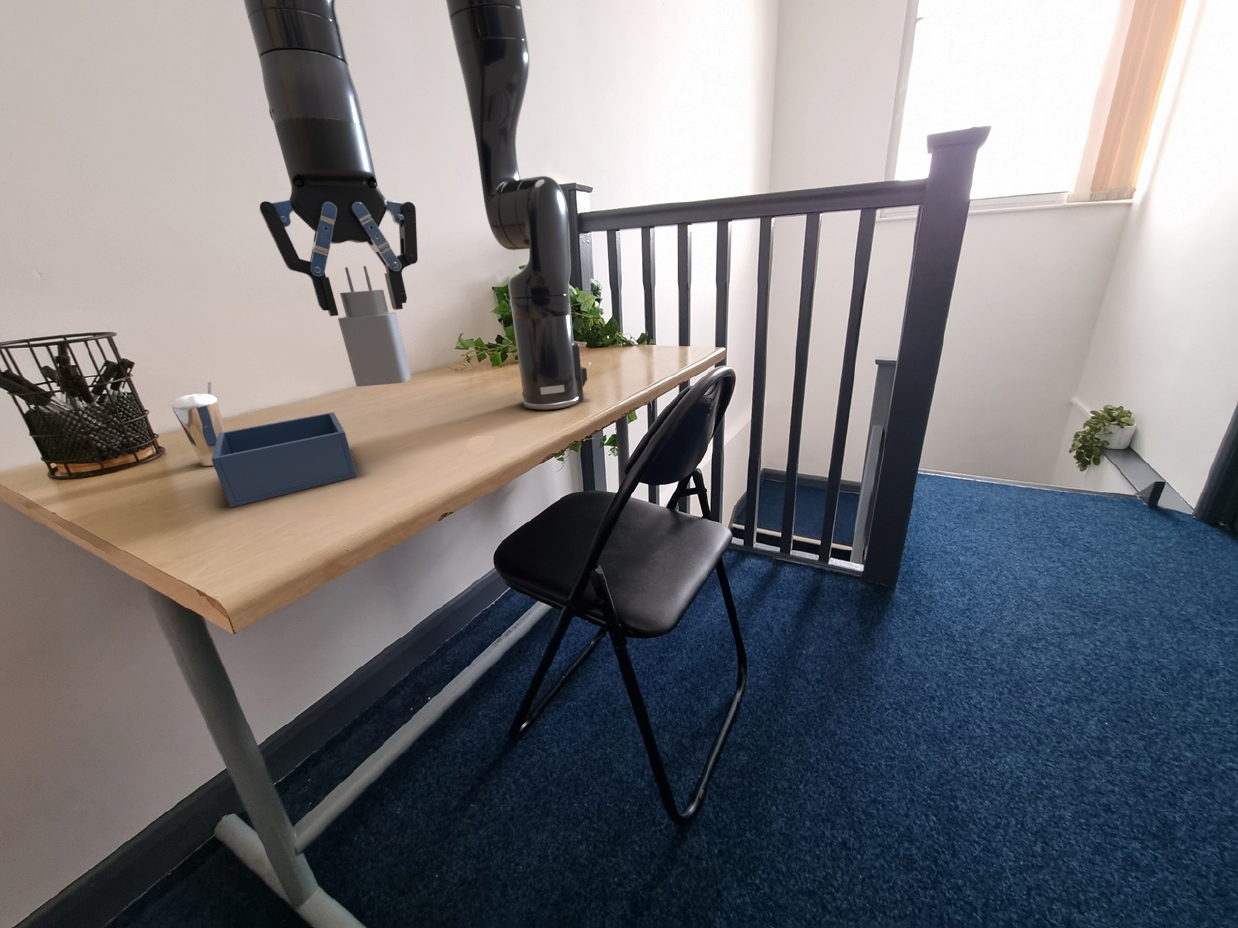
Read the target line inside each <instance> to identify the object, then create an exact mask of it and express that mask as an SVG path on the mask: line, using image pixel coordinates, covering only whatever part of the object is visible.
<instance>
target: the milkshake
mask: <svg viewBox="0 0 1238 928" xmlns="http://www.w3.org/2000/svg"><path fill="white" fill-rule="evenodd" d="M170 407H171V409H172V411H173V413H174V414H175V416H176V418H177V420H178V422H179V424H180V426H181V427H182V429H183V431H184V433H185V435H186V438H187V439H188V441H189V443H190V445H191V447H192V448H193V450H194V453H195V455H196V456H197V458H198V460H199V462H200V464H201V466H204V467H212V466H214V465H213V462H212V460H211V459H212V455H213V452H214V448H215V445H216V441H217V438H218V434H219V433H222V432H226V431H225V427H224V423H223V420H222V419H223V418H222V416H221V415H222V414H221V411H220V407H219V403H218V399H217V397H216V396H215V395H213V394H212V381H207V393H193V394H185V395H182V396H180V397H177V398H175V399H173V401H172V402H171V404H170Z"/></svg>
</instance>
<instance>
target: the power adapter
mask: <svg viewBox="0 0 1238 928" xmlns="http://www.w3.org/2000/svg"><path fill="white" fill-rule="evenodd" d="M344 270H345V273H346V279H347V282H348V287H349V290H350V291H345V292H344V291H343V292H339V296H340V299H341V302H342V307H343V310H344V314H345V315H344V316H342V317H338V318H337V321H338V324H339V328H340V331H341V335H342V339H343V343H344V345H345V350H346V354H347V358H348V361H349V364H350V367H351V372H352V375H353V378H354V379H353V380H354V383H355V386H356V387H370V386H371V387H372V386H381V385H382V386H383V385H394V384H395V385H396V384H403V383H405V382H408V381H409V380H411V379H412V375H411V371H410V370H411V369H410V367H409V366H410V365H409V362H408V359H407V358H408V357H407V354H406V348H405V344H404V340H403V335H402V332H401V327H400V323H399V318H398V314H397V312H389V308H388V305H387V304H388V303H387V300H386V296H385V292H384V289H373V288H372V284H371V279H370V276H369V272H368V269H367V266H366V265H363V272H364V275H365V277H364V278H365V280H366V285H367V289H368V290H358V291H357V290H356V291H355V290H354V285H353V280H352V277H351V274H350V271H349V267H348V266H346V267H344Z"/></svg>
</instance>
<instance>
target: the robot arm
mask: <svg viewBox="0 0 1238 928" xmlns="http://www.w3.org/2000/svg"><path fill="white" fill-rule="evenodd" d="M445 2H446V7H447V12H448V18H449V23H450V28H451V31H452V36H453V37H452V38H453V41H454V46H455V51H456V54H457V58H458V62H459V67H460V70H461V74H462V78H463V79H462V80H463V84H464V88H465V93H466V97H467V103H468V108H469V114H470V118H471V122H472V123H471V124H472V129H473V133H474V139H475V146H476V153H477V159H478V160H477V161H478V166H479V173H480V174H479V176H480V181H481V190H482V196H483V203H484V209H485V214H486V218H487V222H488V226H489V228H490V231H491V233H492V235H493V237H494V238H495V240H496V241H497V243H498V245H500V246H501V247H503V248H504V249H506V250H510V251H511V250H512V251H518V250H529V251H528V253H529V254H528V262H527V263H526V264H525V266H524V267H523V268H522V269H521V270H520V271H519V272H518V273H516V274H515V275H513V276H511V277H510V278H509V280H508V295H509V301H510V308H511V315H512V322H513V331H514V338H515V346H516V351H517V360H518V368H519V369H518V370H519V375H520V383H521V390H522V391H521V393H522V394H521V395H522V397H523V398H522V404H523V407H524V408H526V409H531V410H536V411H537V410H539V411H545V410H546V411H547V410H549V411H550V410H557V409H558V410H559V409H564V408H567V407H571V406H574V405H576V404H578V403H580V402H583V401H584V400H585V398H584V397H585V396H584V387H585V384H586V382H587V381H588V373H587V367H583V366H582V364H581V363H582V362H581V352H580V344H579V343H578V342H574V332H573V331H574V329H573V320H572V309H571V308H572V307H571V296H570V279H571V272H572V261H571V260H572V259H571V243H570V242H571V240H570V239H571V238H570V235H571V234H570V218H569V209H568V204H567V200H566V196H565V194H564V191H563V189H562V188H561V186H560V184H559V183H558V182H557V181H556V180H555V179H554V178H553V177H550V176H547V175H540V176H539V175H538V176H533V177H532V176H531V177H526V178H521V177H520V171H519V163H518V156H517V155H518V154H517V135H518V134H517V133H518V126H519V121H520V116H521V113H522V108H523V104H524V99H525V95H526V91H527V87H528V81H529V77H530V76H529V75H530V67H531V65H530V64H531V63H530V61H531V60H530V59H531V58H530V49H529V44H528V43H529V42H528V36H527V31H526V30H527V29H526V24H525V19H524V14H523V12H524V11H523V5H522V1H521V0H445ZM243 3H244V7H245V12H246V16H247V19H248V22H249V26H250V30H251V33H252V37H253V40H254V44H255V48H256V51H257V56H258V58H259V59H258V60H259V63H260V68H261V74H262V82H263V89H264V92H265V96H266V97H265V98H266V100H267V103H268V109H269V110H268V111H269V116H270V119H271V120H272V122H273V125H274V129H275V133H276V136H277V140H278V144H279V147H280V150H281V154H282V157H283V158H282V159H283V161H284V165H285V168H286V172H287V176H288V179H289V183H290V187H291V190H290V191H291V193H290V196H289V199H286V200H282V201H281V200H280V201H276V202H271V201H268V200H265V201H262V202H260V204H259V213H260V215H261V217H262V219H263V221H264V223H265V225H266V227H267V229H268V231H269V233H270V235H271V237H272V239H273V242H274V244H275V245H276V248H277V249H278V252H279V254H280V255H281V256H280V257H281V258H282V260H283V262H284V264H285V266H286V268H287V269H289V270H290V271H292V272H297V273H300V274H304V275H307V276H308V277H309V278H310V280H311V283H312V285H313V290H314V294H315V297H316V300H317V304H318V306H319V307H320V309H321V310H322V311H327V312H328V315H329V317H337V316H339V311H338V307H337V304H336V300H335V295H334V292H333V288H332V285H331V284H332V283H331V281H330V277H329V276H326V275H327V274H326V268H327V263H328V256H329V253H330V249H331V245H335V244H337V245H339V244H343V243H346V242H351V243H356V244H365V243H367V245H368V246H369V248H370V249H371V251H372V252H373V253H374V254H375V255H376V256H377V258H378V260H379V261H380V262H381V264H382V265H383V267H384V268H385V271H386V272H384V274H383V275H384V278H385V282H386V286H387V292H388V295H389V300H390V304H391V307H392V310H395V311H398V310H403V309H404V306H403V304H406V303H407V299H408V297H407V292H406V287H405V283H404V279H403V270H404V269H406V268H407V267H409V266H411V265H415V264H416V263H417V262H418V260H419V258H418V234H417V233H418V232H417V209H416V206H415V204H414V203H413V202H411V201H405V202H401V201H400V202H398V201H393V200H387V199H386V197H385V196H384V194H383V193H382V191H381V189H380V187H379V185H378V180H377V175H376V170H375V167H374V162H373V158H372V152H371V149H370V145H369V139H368V135H367V130H366V125H365V121H364V116H363V112H362V109H361V108H362V107H361V101H360V99H359V95H358V91H357V89H356V85H355V83H354V80H353V77H352V74H351V70H350V67H349V62H348V61H349V60H348V57H347V52H346V47H345V43H344V39H343V34H342V31H341V26H340V23H339V19H338V14H337V6H336V5H337V0H243ZM292 213H295V215H297V216H298V217H299V218H300V220H302V221H303V222H304V223H305V224H306V225H307V226H308V227H309V228H310V229H311V230H312V231H313V232H314V235H313V240H312V246H311V253H310V257H309V260H305V259H303V258H300V257H299V255H298V253H297V250H296V248H295V246H294V243H293V242H292V240H291V238H290V236H289V233H288V232H287V229H286V228H288V227H290V225H291V223H292V222H291V217H290V216H291V214H292ZM386 213H389V215H390V216H391V219H392V220H391V221H392V222H393V223H394V224H395V225H397V226H398V233H399V235H398V236H399V251H400V252H399V253H400V254H398V255H396V254H395V251H394V250H393V249H392V247H391V245H390V243H389V241H388V240H387V238H386V237H385V235H384V233H383V232H382V230H381V229H380V225H381V224H382V221H383V219H384V217H385V215H386Z"/></svg>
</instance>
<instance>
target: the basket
mask: <svg viewBox="0 0 1238 928" xmlns="http://www.w3.org/2000/svg"><path fill="white" fill-rule="evenodd" d="M211 460H212V462H213V465H212V466H213V467H214V470H215V472H216V475H217V478H218V480H219V483H220V485H221V488H222V490H223V492H224V496H225V498H226V500H227V503H228V505H229V507H230V508H234V507H239V506H243V505H247V504H248V505H249V504H251V503H255V502H260V501H263V500H267V499H272V498H275V497H279V496H283V495H288V494H291V493H296V492H300V491H304V490H308V489H312V488H316V487H320V486H324V485H328V484H332V483H336V482H337V483H338V482H340V481H344V480H349V479H352V478H356V477H358V473H357V470H356V466H355V463H354V459H353V456H352V453H351V449H350V446H349V441H348V437H347V434H346V431H345V430H344V428H343V426H342V424H341V422H340V421H339V419H338V417H337V415H336V414H335V412H334V411H332V412H326V413H321V414H316V415H310V416H305V417H300V418H294V419H288V420H283V421H277V422H272V423H266V424H260V425H255V426H249V427H245V428H239V429H234V430H228V431H225V432H222V433H219V434H218V438H217V441H216V445H215V448H214V452H213V455H212V459H211Z"/></svg>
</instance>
